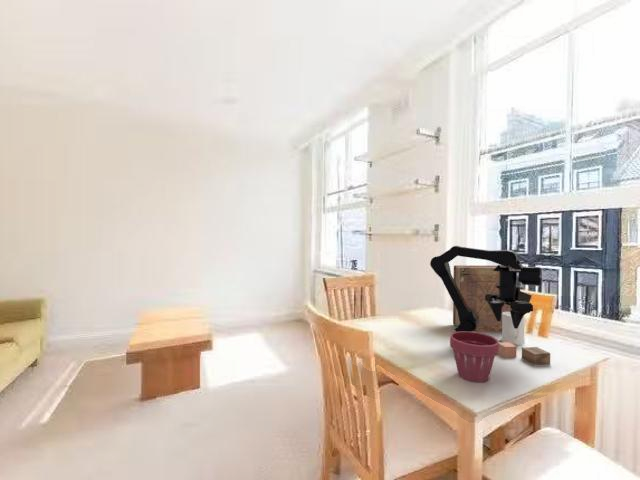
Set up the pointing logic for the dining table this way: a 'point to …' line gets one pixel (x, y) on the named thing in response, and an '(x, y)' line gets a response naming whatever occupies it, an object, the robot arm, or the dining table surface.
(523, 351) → the base block
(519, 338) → the mug
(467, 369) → the plant pot
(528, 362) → the gray square frame
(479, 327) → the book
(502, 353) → the cube
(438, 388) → the dining table surface
